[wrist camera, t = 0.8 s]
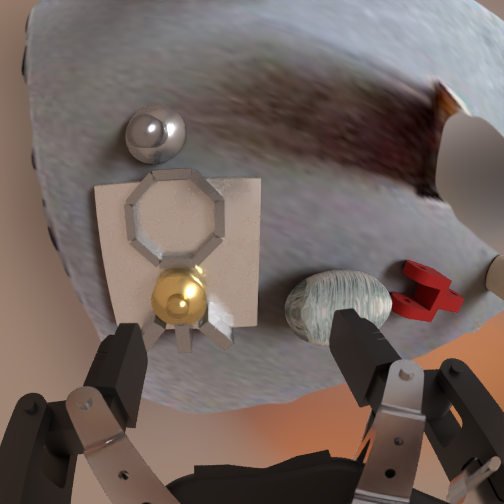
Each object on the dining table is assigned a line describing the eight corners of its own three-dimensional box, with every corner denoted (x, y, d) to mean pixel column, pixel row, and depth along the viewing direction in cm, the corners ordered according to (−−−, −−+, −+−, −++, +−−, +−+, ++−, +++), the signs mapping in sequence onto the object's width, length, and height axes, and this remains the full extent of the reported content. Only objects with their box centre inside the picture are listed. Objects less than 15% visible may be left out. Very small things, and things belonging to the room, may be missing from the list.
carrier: (100, 173, 28) (77, 180, 22) (258, 165, 31) (269, 170, 25) (123, 329, 35) (112, 357, 30) (254, 326, 38) (261, 356, 32)
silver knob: (130, 109, 26) (109, 100, 20) (187, 104, 27) (180, 92, 21) (130, 165, 29) (109, 170, 22) (186, 161, 29) (179, 164, 23)
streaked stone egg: (273, 346, 35) (319, 363, 26) (270, 273, 36) (317, 267, 27) (352, 332, 41) (402, 338, 32) (350, 270, 42) (400, 264, 33)
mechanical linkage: (381, 299, 40) (398, 316, 35) (400, 257, 38) (420, 270, 33) (439, 311, 43) (455, 325, 39) (456, 277, 41) (474, 289, 37)
